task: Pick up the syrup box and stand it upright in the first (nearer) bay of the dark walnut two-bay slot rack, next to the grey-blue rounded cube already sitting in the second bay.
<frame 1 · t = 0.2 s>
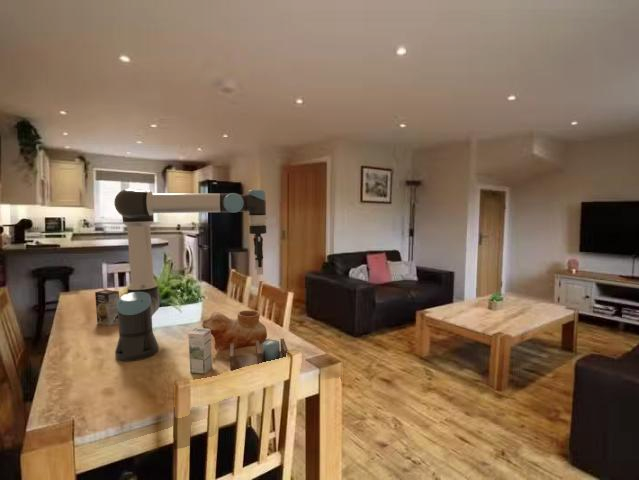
hand: (258, 271, 164), 28 cm above the table, fingers open, 13 cm apart
coffee box: (109, 323, 181), on the table
ceramic vessel: (236, 345, 150), on the table
syrup box: (201, 371, 127), on the table
grey-blue rounded cube: (271, 358, 133), point 1 cm above the table, touching slot rack
slot rack: (258, 363, 133), on the table
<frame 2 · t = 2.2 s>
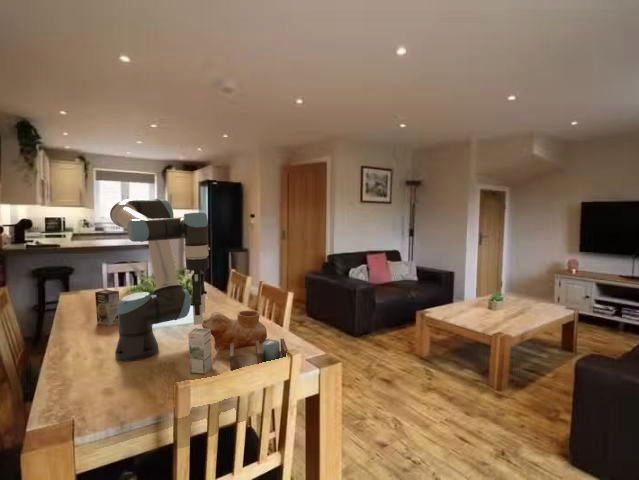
hand: (199, 318, 126), 19 cm above the table, fingers open, 13 cm apart
nothing on the table moved.
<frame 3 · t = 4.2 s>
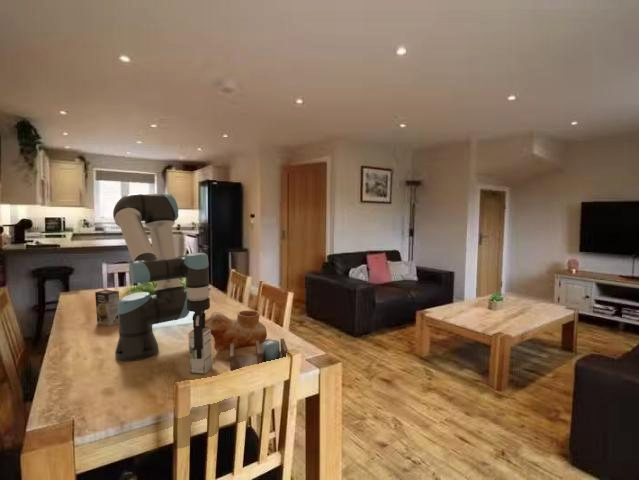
hand: (201, 361, 127), 3 cm above the table, fingers closed on syrup box, 7 cm apart
syrup box: (201, 371, 127), on the table, touching gripper
everything else where it was.
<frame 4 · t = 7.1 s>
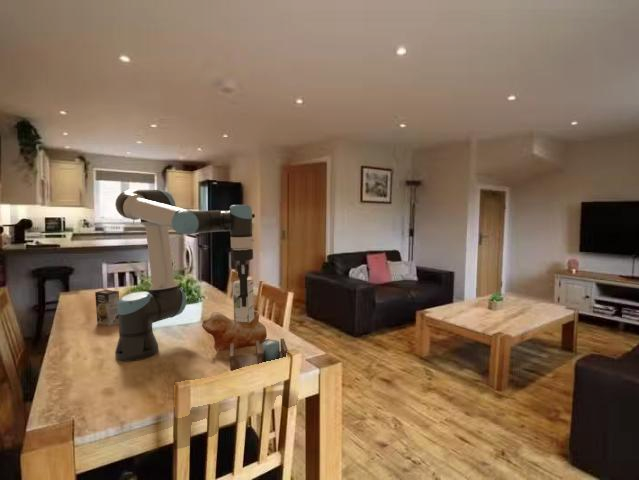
hand: (244, 311, 130), 20 cm above the table, fingers closed on syrup box, 7 cm apart
syrup box: (244, 321, 130), point 16 cm above the table, touching gripper
everything else where it was.
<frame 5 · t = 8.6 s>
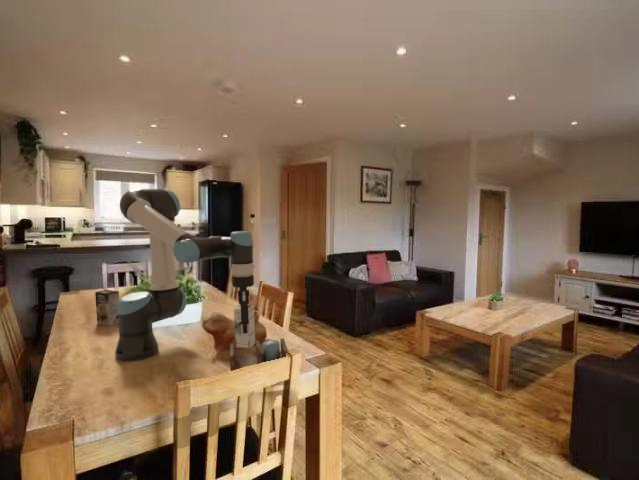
hand: (245, 337, 130), 10 cm above the table, fingers closed on syrup box, 7 cm apart
syrup box: (245, 346, 131), point 7 cm above the table, touching gripper
everything else where it was.
when the fingers open (6 cm above the table, at t = 9.8 s): syrup box drops 2 cm, resting on slot rack.
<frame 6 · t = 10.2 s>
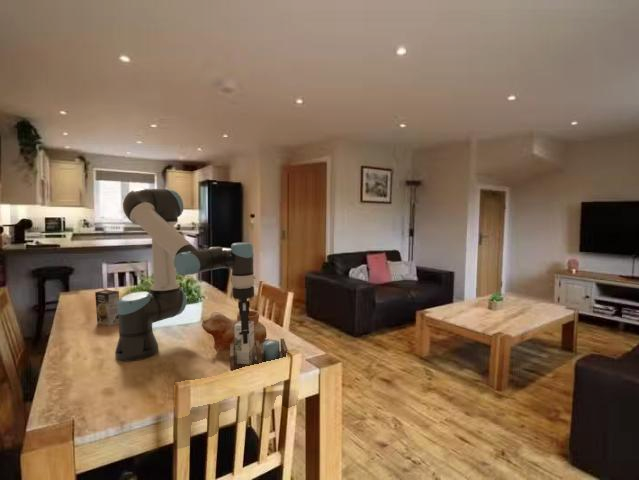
hand: (245, 345, 131), 7 cm above the table, fingers open, 12 cm apart
syrup box: (245, 362, 131), point 1 cm above the table, touching slot rack
everything else where it was.
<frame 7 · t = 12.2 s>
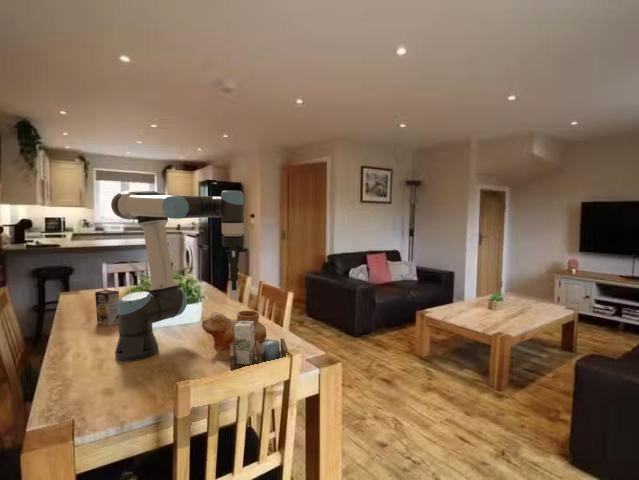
hand: (234, 294, 129), 26 cm above the table, fingers open, 13 cm apart
nothing on the table moved.
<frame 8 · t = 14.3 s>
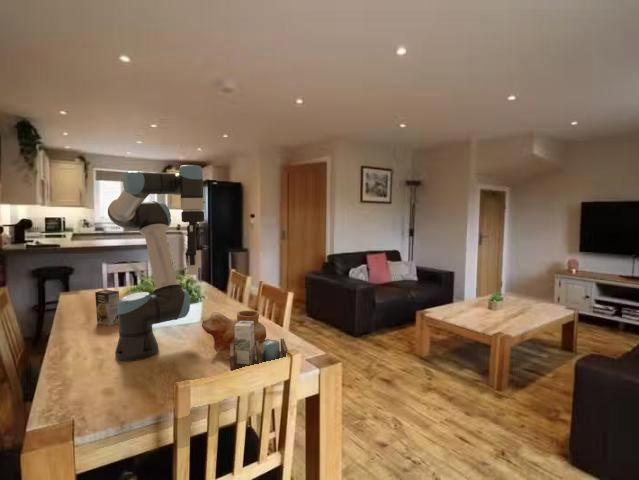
hand: (195, 271, 127), 35 cm above the table, fingers open, 13 cm apart
nothing on the table moved.
at the end: syrup box inside the target area on the slot rack (0.3 cm from its centre), point 1.0 cm above the slot rack's base; syrup box tilted 0°; the gripper is holding nothing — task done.
